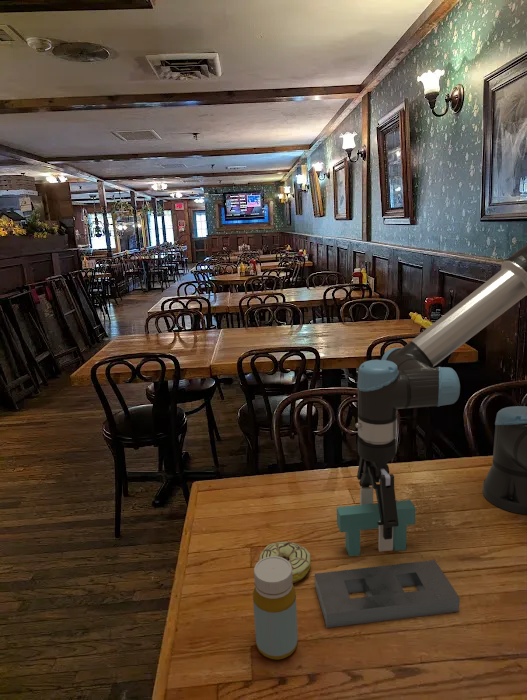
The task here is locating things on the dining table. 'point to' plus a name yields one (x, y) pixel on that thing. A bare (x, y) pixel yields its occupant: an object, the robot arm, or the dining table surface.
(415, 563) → the slotted metal plate
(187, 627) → the dining table surface
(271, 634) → the bottle
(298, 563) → the decorated donut
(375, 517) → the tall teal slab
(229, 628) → the dining table surface
